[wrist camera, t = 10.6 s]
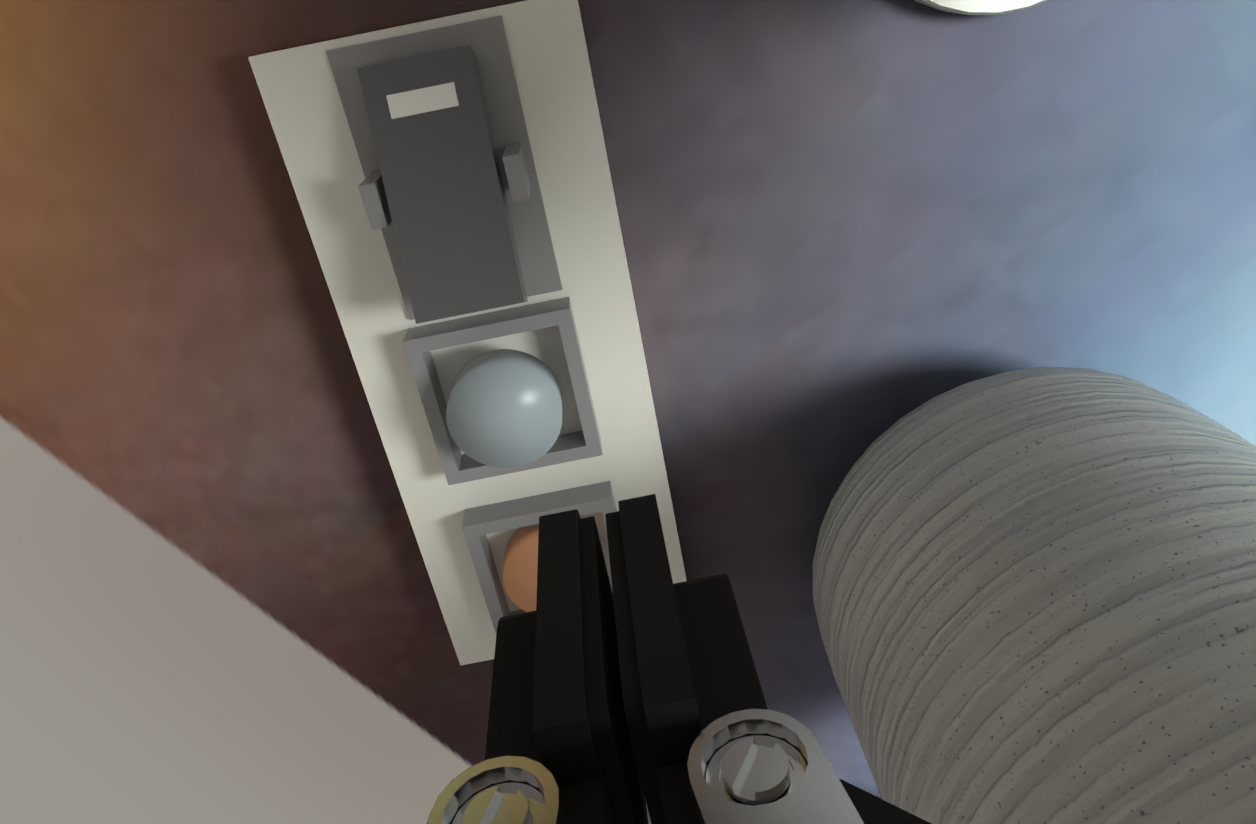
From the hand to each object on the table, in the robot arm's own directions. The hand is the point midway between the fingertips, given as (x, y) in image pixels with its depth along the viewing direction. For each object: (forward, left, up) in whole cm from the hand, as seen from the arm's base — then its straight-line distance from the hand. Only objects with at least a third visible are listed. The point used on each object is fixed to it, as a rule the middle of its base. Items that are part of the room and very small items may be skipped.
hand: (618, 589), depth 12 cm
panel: (+4, +7, -27) cm, 28 cm away
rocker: (+4, -2, -22) cm, 23 cm away
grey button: (+5, +7, -23) cm, 25 cm away
